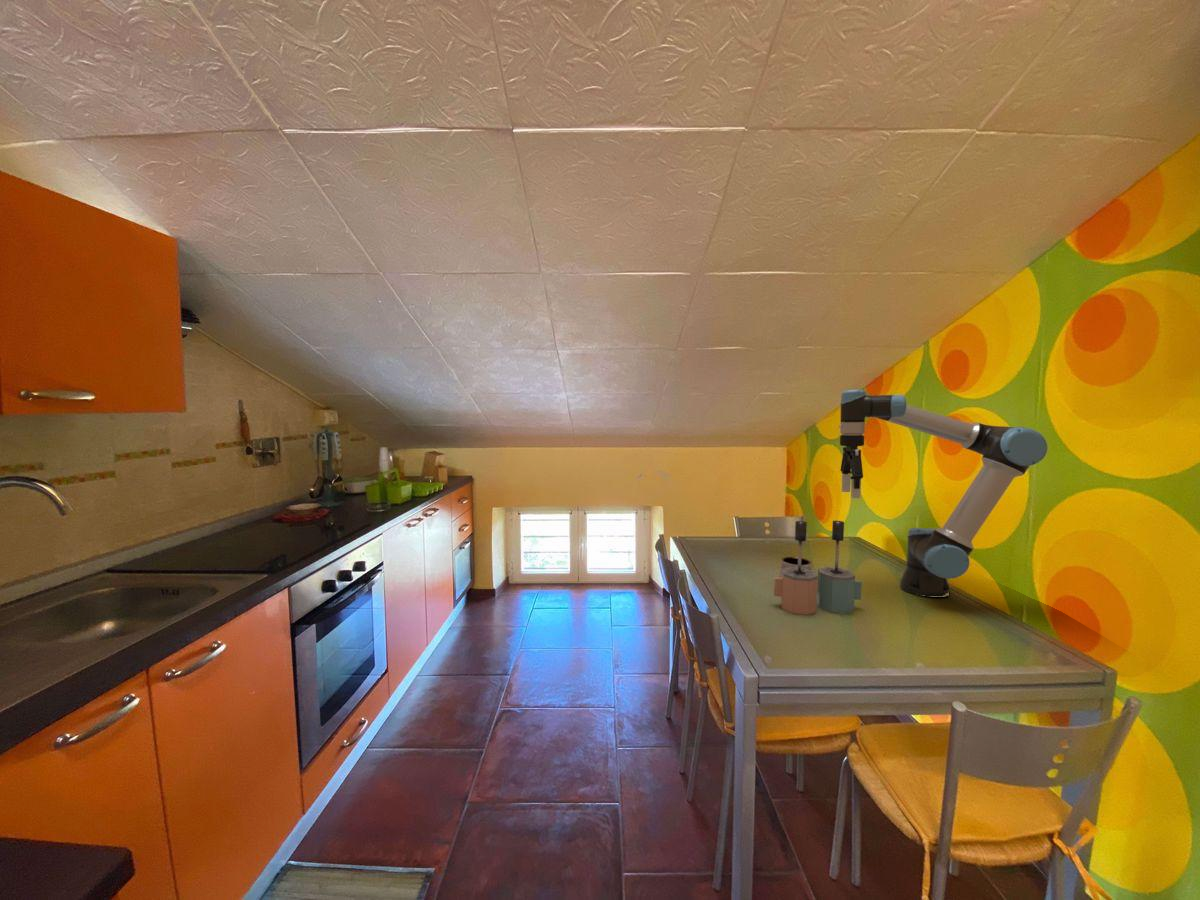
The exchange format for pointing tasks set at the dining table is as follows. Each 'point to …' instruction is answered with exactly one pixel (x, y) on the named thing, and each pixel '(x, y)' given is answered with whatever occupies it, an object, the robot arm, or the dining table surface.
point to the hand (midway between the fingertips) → (850, 495)
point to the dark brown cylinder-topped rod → (837, 539)
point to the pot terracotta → (797, 590)
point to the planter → (794, 563)
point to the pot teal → (837, 590)
